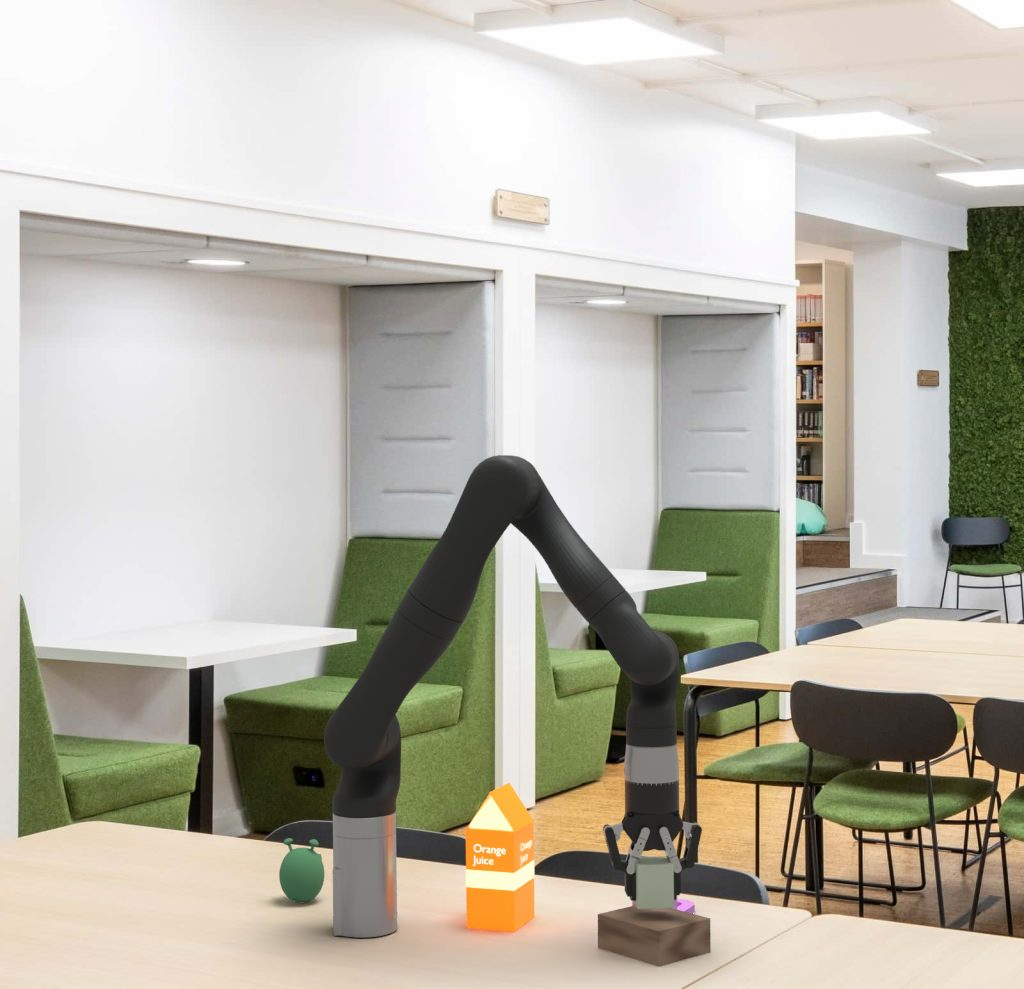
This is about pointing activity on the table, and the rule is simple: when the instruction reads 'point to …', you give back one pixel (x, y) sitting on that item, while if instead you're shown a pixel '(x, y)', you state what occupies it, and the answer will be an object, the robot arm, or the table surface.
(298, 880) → the alien toy
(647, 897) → the sage block
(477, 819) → the orange juice
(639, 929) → the plate
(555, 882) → the table surface
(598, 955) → the table surface
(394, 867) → the robot arm
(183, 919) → the table surface
